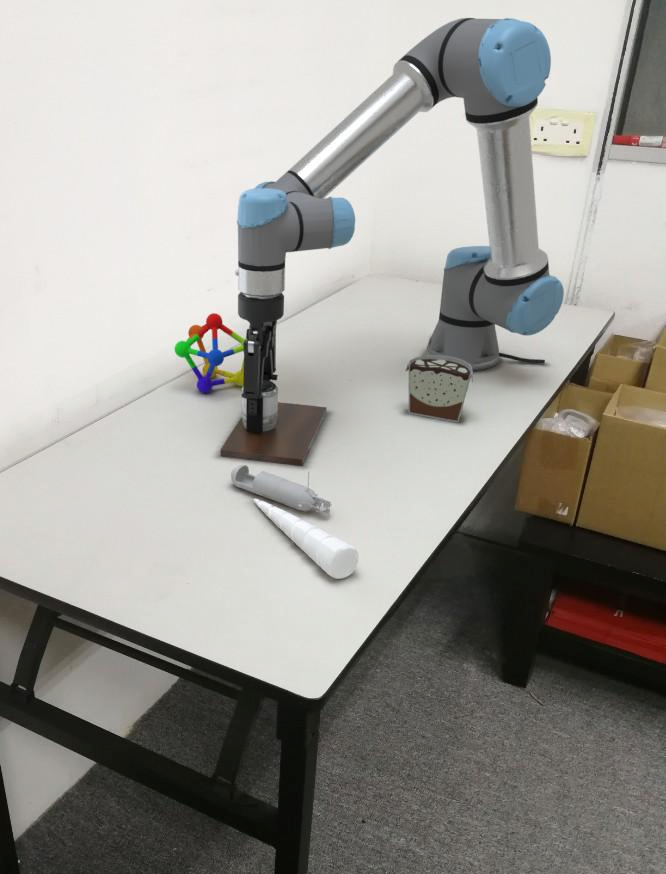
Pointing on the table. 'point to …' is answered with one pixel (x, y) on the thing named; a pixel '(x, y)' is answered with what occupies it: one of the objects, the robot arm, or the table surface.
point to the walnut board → (278, 436)
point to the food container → (438, 386)
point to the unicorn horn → (315, 542)
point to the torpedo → (279, 490)
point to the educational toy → (210, 354)
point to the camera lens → (265, 405)
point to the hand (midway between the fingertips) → (259, 423)
